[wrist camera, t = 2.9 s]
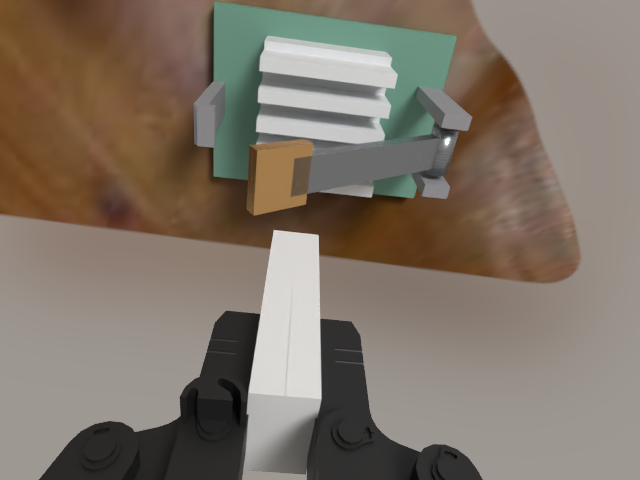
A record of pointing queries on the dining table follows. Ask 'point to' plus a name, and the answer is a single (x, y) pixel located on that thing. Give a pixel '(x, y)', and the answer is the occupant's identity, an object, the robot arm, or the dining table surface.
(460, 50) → the dining table surface
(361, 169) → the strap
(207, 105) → the heatsink board
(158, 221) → the dining table surface
